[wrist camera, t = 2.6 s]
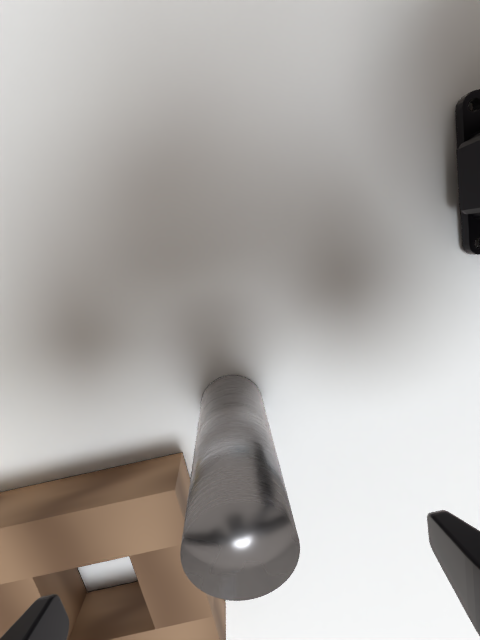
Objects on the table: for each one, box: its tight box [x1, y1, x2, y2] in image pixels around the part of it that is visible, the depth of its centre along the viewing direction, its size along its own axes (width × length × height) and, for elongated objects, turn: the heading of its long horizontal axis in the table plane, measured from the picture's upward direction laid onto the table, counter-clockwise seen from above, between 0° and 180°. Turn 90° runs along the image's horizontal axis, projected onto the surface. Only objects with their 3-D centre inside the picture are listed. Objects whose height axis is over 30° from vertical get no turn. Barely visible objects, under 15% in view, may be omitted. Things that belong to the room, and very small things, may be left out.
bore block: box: [0, 452, 226, 640], centre depth 16 cm, size 10×10×3 cm
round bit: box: [180, 375, 300, 601], centre depth 12 cm, size 3×3×8 cm
